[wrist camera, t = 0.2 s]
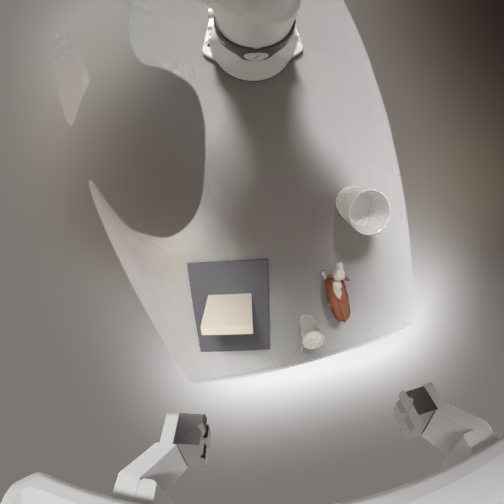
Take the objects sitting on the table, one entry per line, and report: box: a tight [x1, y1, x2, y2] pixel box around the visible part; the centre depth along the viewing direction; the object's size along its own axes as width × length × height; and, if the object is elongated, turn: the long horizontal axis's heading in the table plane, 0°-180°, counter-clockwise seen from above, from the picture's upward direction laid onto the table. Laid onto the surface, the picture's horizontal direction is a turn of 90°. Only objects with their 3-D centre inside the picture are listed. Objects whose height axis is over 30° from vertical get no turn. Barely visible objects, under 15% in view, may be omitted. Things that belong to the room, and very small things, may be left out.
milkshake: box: [299, 313, 324, 352], centre depth 58 cm, size 4×5×10 cm
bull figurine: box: [320, 262, 350, 322], centre depth 56 cm, size 4×13×8 cm, turn 13°
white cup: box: [336, 186, 391, 235], centre depth 50 cm, size 8×8×10 cm
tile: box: [200, 293, 253, 335], centre depth 54 cm, size 2×9×12 cm, turn 93°
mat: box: [187, 259, 270, 351], centre depth 61 cm, size 22×16×1 cm
